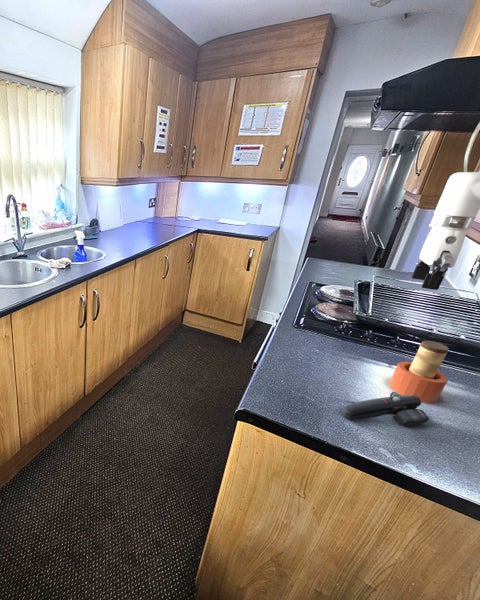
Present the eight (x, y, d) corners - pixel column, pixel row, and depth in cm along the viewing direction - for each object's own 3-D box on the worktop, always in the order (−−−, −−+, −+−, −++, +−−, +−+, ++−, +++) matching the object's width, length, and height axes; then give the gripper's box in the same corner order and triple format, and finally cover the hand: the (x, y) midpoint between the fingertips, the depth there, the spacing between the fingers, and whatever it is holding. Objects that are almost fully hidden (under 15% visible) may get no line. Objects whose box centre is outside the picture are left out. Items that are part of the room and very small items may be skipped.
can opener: (402, 405, 80) (411, 387, 77) (431, 427, 73) (442, 408, 71) (330, 407, 79) (337, 388, 77) (353, 429, 73) (361, 409, 71)
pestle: (418, 389, 86) (441, 342, 80) (428, 399, 82) (453, 351, 76) (396, 384, 87) (418, 339, 82) (405, 395, 83) (428, 347, 78)
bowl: (423, 387, 87) (434, 365, 84) (444, 409, 79) (457, 385, 77) (381, 380, 90) (391, 358, 87) (398, 400, 82) (409, 377, 80)
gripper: (487, 228, 77) (454, 295, 83) (458, 219, 91) (431, 278, 97) (443, 225, 81) (414, 290, 87) (421, 217, 94) (398, 273, 101)
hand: (423, 283), depth 92 cm, fingers open, 9 cm apart
